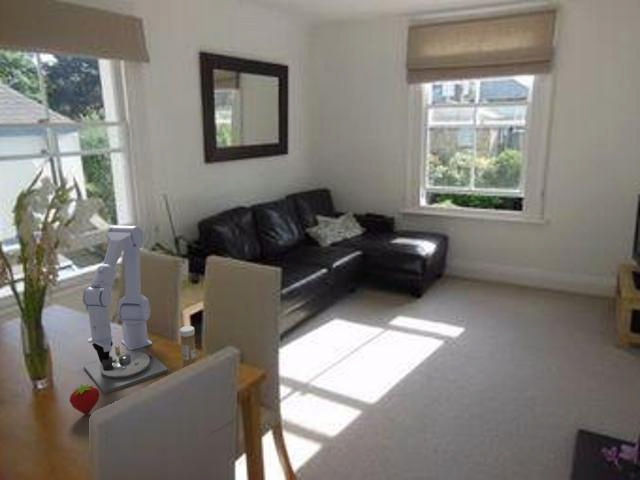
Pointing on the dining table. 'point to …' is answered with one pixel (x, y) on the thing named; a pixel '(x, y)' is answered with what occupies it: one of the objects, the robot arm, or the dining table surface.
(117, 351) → the brass dowel
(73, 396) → the strawberry
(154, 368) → the charcoal board
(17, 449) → the dining table surface
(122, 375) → the flange plate
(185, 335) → the sprinkles bottle
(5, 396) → the dining table surface
